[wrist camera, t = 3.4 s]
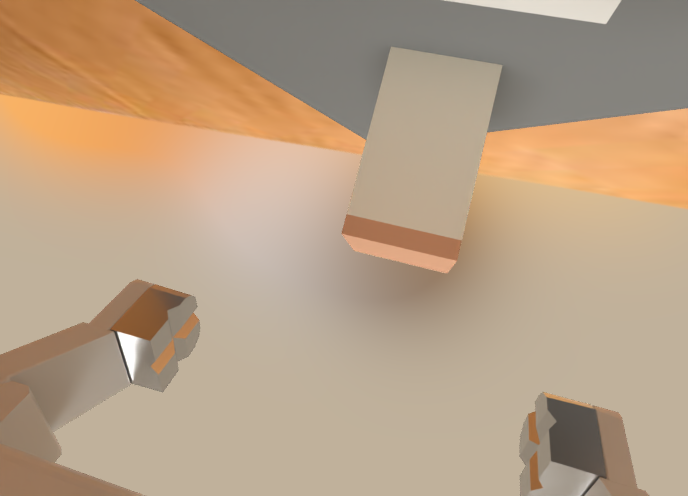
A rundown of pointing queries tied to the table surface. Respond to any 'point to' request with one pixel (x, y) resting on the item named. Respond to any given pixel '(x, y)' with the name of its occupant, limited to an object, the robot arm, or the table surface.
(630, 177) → the table surface
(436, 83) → the block
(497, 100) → the mat
